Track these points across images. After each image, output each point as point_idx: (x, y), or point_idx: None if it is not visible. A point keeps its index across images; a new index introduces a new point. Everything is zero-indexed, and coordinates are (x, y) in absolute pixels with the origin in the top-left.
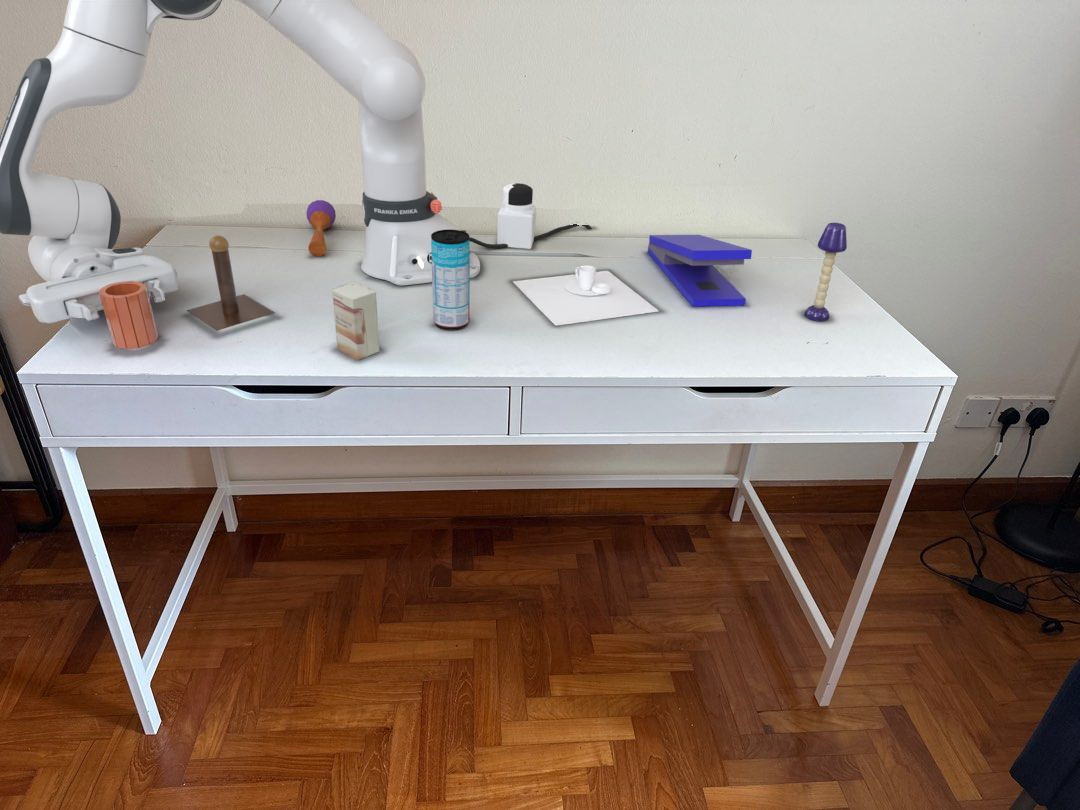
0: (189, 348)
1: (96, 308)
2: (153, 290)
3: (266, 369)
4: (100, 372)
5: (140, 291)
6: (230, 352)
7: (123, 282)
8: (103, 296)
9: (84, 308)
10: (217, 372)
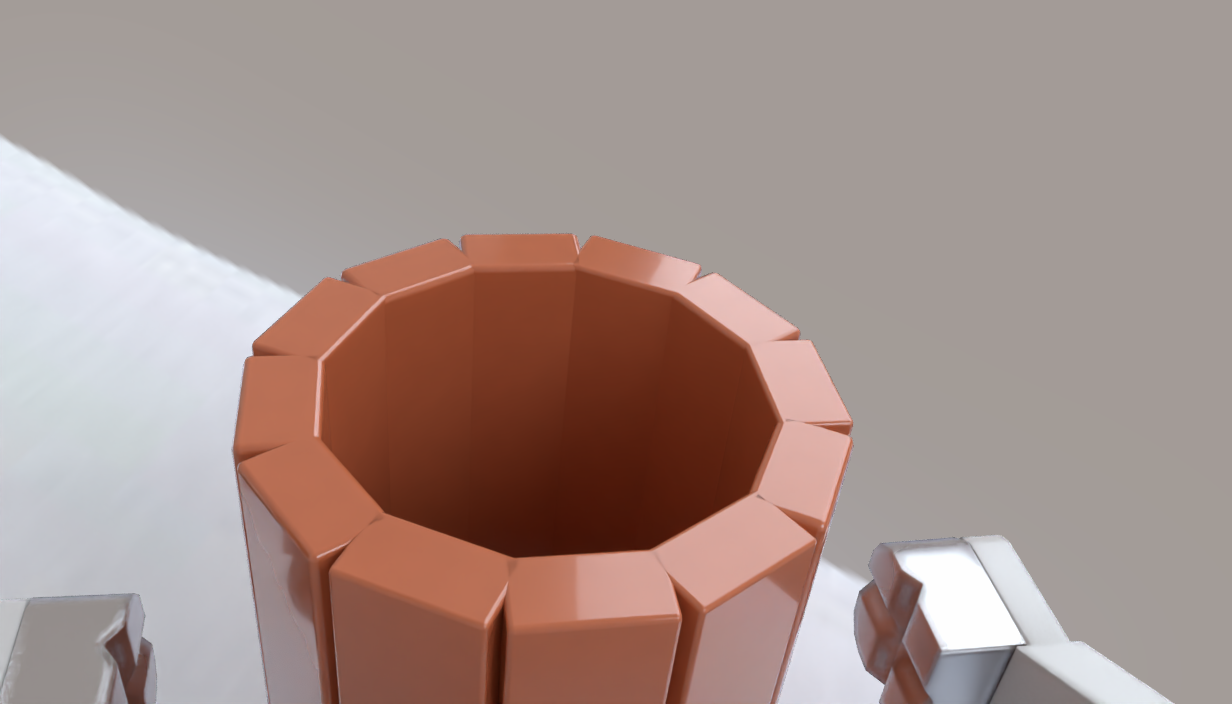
0: (194, 582)
1: (883, 545)
2: (71, 654)
3: (55, 208)
4: (855, 583)
5: (397, 258)
6: (32, 406)
7: (460, 569)
8: (805, 345)
9: (1018, 568)
10: (262, 285)
